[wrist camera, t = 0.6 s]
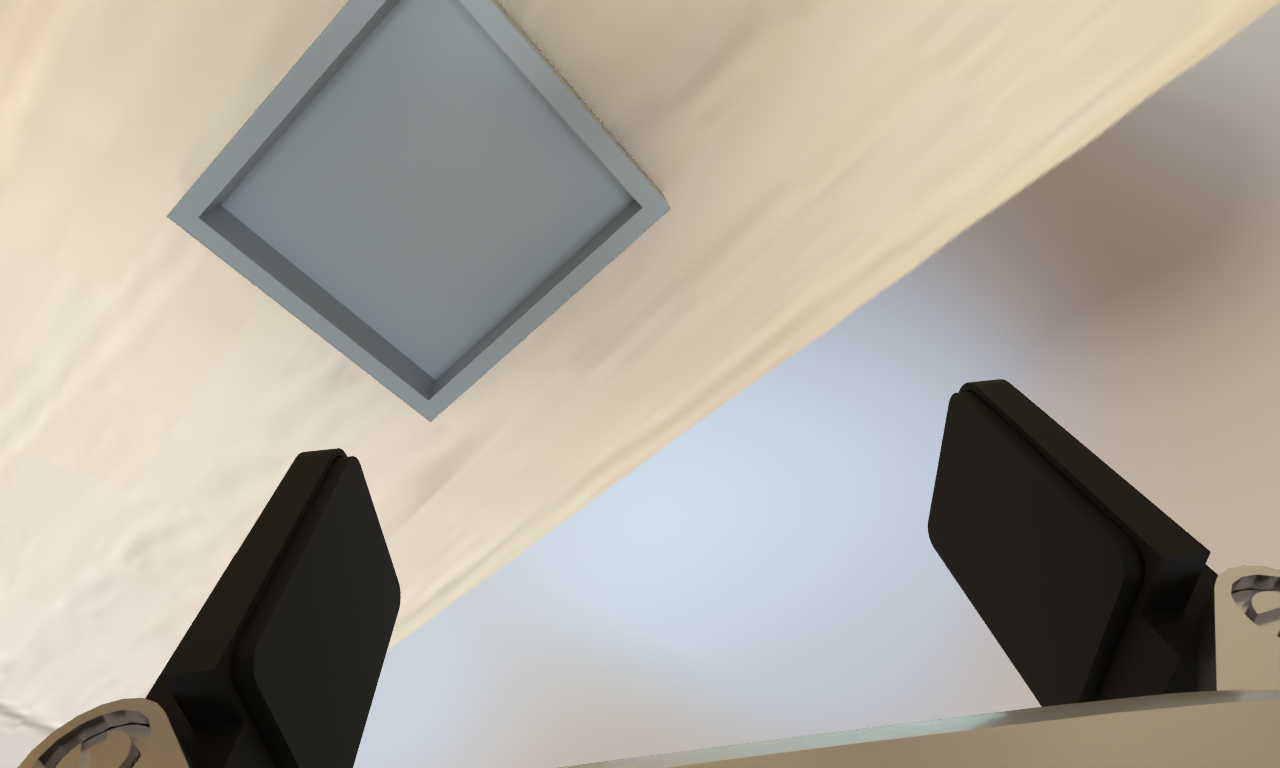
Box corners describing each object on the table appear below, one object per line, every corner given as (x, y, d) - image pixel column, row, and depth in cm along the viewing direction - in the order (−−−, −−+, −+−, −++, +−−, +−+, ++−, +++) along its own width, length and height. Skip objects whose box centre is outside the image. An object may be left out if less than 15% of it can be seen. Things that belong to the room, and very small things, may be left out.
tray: (432, -74, 30) (419, -83, 28) (663, 194, 37) (670, 209, 34) (197, 201, 35) (166, 216, 32) (439, 396, 41) (430, 422, 39)
